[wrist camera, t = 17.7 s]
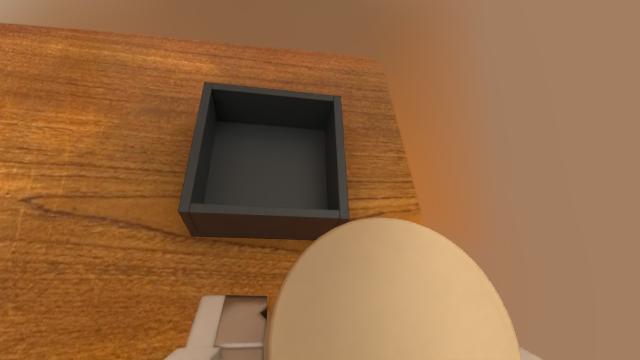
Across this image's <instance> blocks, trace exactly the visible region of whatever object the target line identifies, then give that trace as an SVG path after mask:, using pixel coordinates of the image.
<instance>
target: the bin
mask: <svg viewBox="0 0 640 360" xmlns="http://www.w3.org/2000/svg"><path fill="white" fill-rule="evenodd" d="M178 212H179V214H180V216H181V218H182V219H183V221H184V223H185V225H186V226H187V228H188V230H189V232H190V234H191V236H200V237H232V238H263V239H295V240H316V239H318V238H319V237H320V236H322V235H323V234H325V233H327V232H328V231H330V230H331V229H334V228H336V227H338V226H340V225H342V224H345V223H347V222H348V220H349V207H348V192H347V178H346V164H345V149H344V135H343V121H342V106H341V96H333V95H324V94H314V93H305V92H295V91H286V90H277V89H267V88H258V87H248V86H239V85H229V84H220V83H210V82H204V86H203V91H202V96H201V101H200V106H199V111H198V116H197V121H196V126H195V130H194V135H193V140H192V145H191V150H190V155H189V160H188V165H187V170H186V175H185V180H184V184H183V189H182V194H181V199H180V204H179V209H178Z"/></svg>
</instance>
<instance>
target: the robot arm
mask: <svg viewBox="0 0 640 360" xmlns="http://www.w3.org/2000/svg"><path fill="white" fill-rule="evenodd" d="M266 319H267V296H238V295H226V296H225V295H204V296H203V297H202V299H201V301H200V304H199V307H198V310H197V313H196V316H195V319H194V322H193V325H192V328H191V331H190V334H189V337H188V340H187V343H186V346H185V348H177V349H176V350H175V351H174V352H172V353H171V354H170V355H169V356H167V357H166V358H165V359H164V360H264V341H265V332H266V327H267V320H266ZM519 349H520V353H521V359H522V360H543V359H541V358H539V357H537V356H535V355H534V354H532V353H530V352H528V351H526V350H525V349H523V348H521V347H519Z"/></svg>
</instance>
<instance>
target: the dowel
mask: <svg viewBox="0 0 640 360" xmlns="http://www.w3.org/2000/svg"><path fill="white" fill-rule="evenodd" d="M264 360H522V359H521V353H520V349H519V345H518V340H517V337H516V333H515V331H514V327H513V324H512V321H511V319H510V317H509V314H508V312H507V310H506V308H505V305H504V304H503V302H502V300H501V298H500V296H499V294H498V293H497V291H496V289H495V288H494V286H493V285H492V283H491V282H490V280H489V279H488V278H487V276H486V275H485V273H484V272H483V271H482V270H481V269H480V267H479V266H478V265H477V264H476V263H475V262H474V261H473V260H472V259H471V258H470V257H469V256H468V255H467V254H466V253H465V252H464V251H463V250H462V249H460V248H459V247H458V246H457V245H455V244H454V243H453V242H451V241H450V240H448V239H447V238H445V237H444V236H442V235H441V234H439V233H437V232H435V231H433V230H431V229H429V228H427V227H425V226H422V225H419V224H416V223H414V222H410V221H406V220H401V219H395V218H386V217H381V218H366V219H359V220H355V221H352V222H348V223H345V224H342V225H340V226H338V227H336V228H334V229H331V230H330V231H328V232H327V233H325V234H323V235H322V236H320V237H319V238H318V239H316V240H315V241H314V242H313V243H312V244H311V245H309V246H308V247H307V248H306V249H305V250H304V252H303V253H302V254H301V255H300V256H299V257H298V258H297V260H296V261H295V262H294V264H293V265H292V267H291V268H290V270H289V271H288V273H287V275H286V277H285V279H284V281H283V283H282V285H281V287H280V289H279V292H278V295H277V297H276V300H275V303H274V306H273V308H272V311H271V314H270V317H269V319H268V322H267V327H266V332H265V341H264Z"/></svg>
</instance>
